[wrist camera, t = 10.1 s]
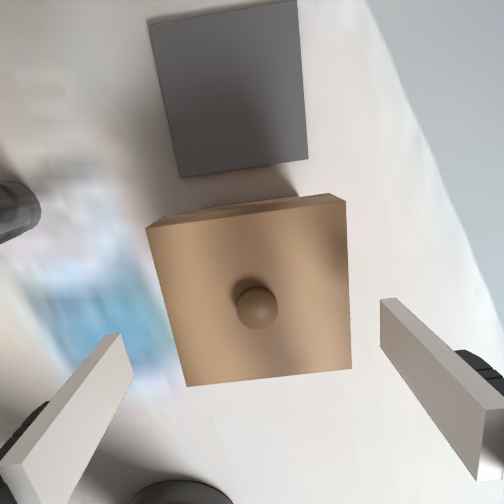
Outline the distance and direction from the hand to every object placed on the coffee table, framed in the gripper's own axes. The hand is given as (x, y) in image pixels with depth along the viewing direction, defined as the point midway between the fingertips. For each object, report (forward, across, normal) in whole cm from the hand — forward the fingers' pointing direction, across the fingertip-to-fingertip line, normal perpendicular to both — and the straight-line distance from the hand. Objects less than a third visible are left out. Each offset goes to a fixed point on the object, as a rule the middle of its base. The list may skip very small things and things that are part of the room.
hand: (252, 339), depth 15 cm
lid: (+7, 0, 0) cm, 7 cm away
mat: (+13, 0, +14) cm, 19 cm away
